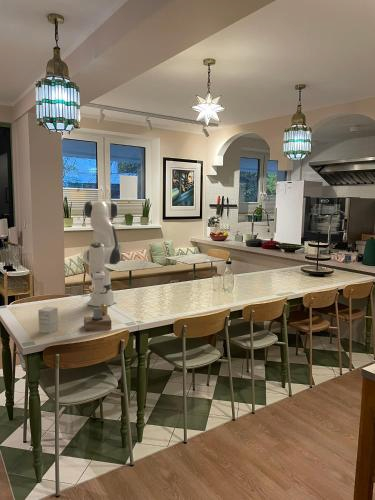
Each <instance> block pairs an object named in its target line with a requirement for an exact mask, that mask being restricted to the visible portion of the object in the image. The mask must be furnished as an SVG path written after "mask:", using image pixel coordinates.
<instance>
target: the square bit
mask: <svg viewBox="0 0 375 500" xmlns="http://www.w3.org/2000/svg"><path fill="white" fill-rule="evenodd" d="M92 312H93V313H92V315H93V316H92V317H93V321H96V320H102V317H101V307H99V306H95V307H93V311H92Z"/></svg>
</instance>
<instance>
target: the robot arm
mask: <svg viewBox="0 0 375 500" xmlns="http://www.w3.org/2000/svg"><path fill="white" fill-rule="evenodd" d="M82 210H83V215H84V216H86V218H90V220H89V221H90V227H91V228H92V229H93V239H94V241H96V242H92V243H90V245H89V248H88V249H86V250H85V251H84V252H83V255H82V258H83V259H82V260H83V262H84V263H85V264H86V265H88V276H89V277H90V279H91V285H92V287H93V288H92V289H93V290H92V291H91V293H89V298H90V299H89V301H88V303H87V304H88V306H94V307H100V305H101V304H107V307H108V306H109V305H110V306H112V305H114V304H116V303H117V301H116V300H115V298H114V295H115V294H114V291H113V290H112V283H111V272H110V271H109V270H108V269H107V268H106V265H117V264H119V263H120V261H121V259H122V253H121V250H120V246H119V242H118V236H117V232H116V228H115V225H114V224H113V223H112V222H111V220H113V219H115V218H117V217H118V215H119V211H120V209H119V205H118V204H117V202H115V201H106V200H99V201H98V200H97V201H86V202H85V203H84V205H83V209H82Z"/></svg>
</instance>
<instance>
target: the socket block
mask: <svg viewBox="0 0 375 500" xmlns="http://www.w3.org/2000/svg"><path fill="white" fill-rule="evenodd" d="M101 317H102V320H96V321H93V316H84V317H83V327H84V330H85V332H95V331H104V330H105V331H106V330H112V319H111V317H110V315H109V314H107V315H104V316H101Z"/></svg>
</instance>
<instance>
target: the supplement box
mask: <svg viewBox="0 0 375 500" xmlns="http://www.w3.org/2000/svg"><path fill="white" fill-rule="evenodd" d="M58 311H59V309H58V307H55V306H48V305H47V306H44V307H42V308H39V309H38V311H37V312H38V313H37V314H38V332H39V333H44V334H52V333H54V332H55V331H58V330H59V315H58V313H59V312H58Z"/></svg>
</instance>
